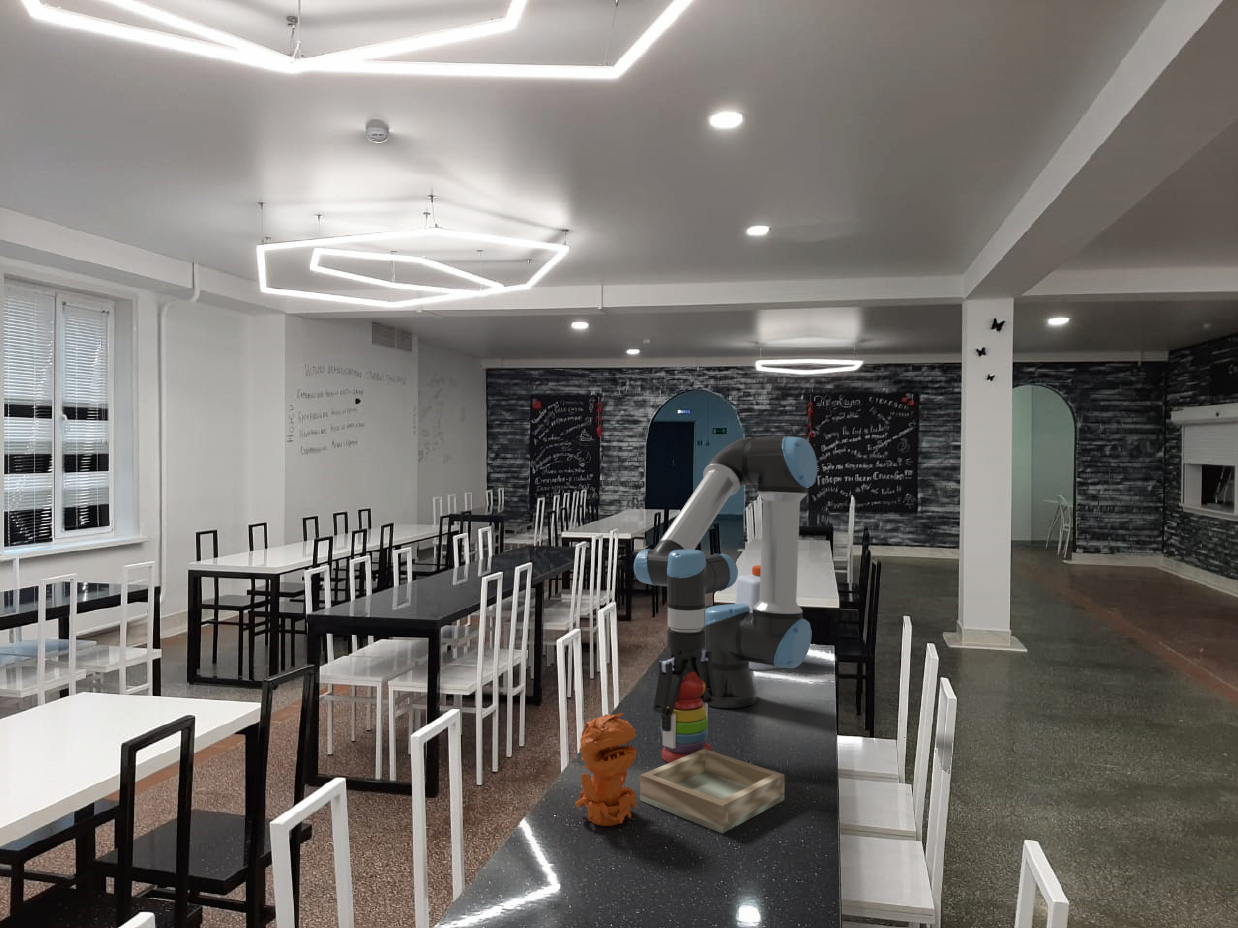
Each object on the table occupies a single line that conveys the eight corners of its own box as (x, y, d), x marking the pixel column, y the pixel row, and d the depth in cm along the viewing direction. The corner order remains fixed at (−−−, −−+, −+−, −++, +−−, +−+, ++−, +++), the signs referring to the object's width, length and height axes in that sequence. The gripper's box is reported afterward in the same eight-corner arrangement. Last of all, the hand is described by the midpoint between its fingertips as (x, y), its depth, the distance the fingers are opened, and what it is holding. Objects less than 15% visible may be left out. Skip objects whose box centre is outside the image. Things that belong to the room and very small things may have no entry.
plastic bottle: (753, 672, 230) (754, 571, 229) (725, 659, 244) (726, 564, 243) (799, 667, 236) (800, 568, 235) (769, 655, 250) (770, 561, 249)
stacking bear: (708, 770, 160) (709, 678, 160) (656, 765, 162) (657, 675, 162) (713, 750, 171) (714, 663, 171) (664, 746, 173) (665, 660, 173)
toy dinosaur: (617, 839, 132) (618, 726, 131) (561, 823, 138) (562, 714, 137) (652, 813, 141) (653, 708, 141) (599, 799, 147) (599, 697, 147)
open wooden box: (703, 771, 159) (703, 748, 159) (784, 799, 147) (784, 774, 147) (640, 800, 147) (640, 774, 146) (722, 833, 134) (722, 805, 134)
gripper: (705, 617, 176) (704, 722, 177) (634, 633, 161) (634, 749, 161) (734, 622, 171) (733, 731, 172) (663, 640, 155) (663, 759, 156)
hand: (685, 739), depth 166 cm, fingers closed on stacking bear, 9 cm apart
